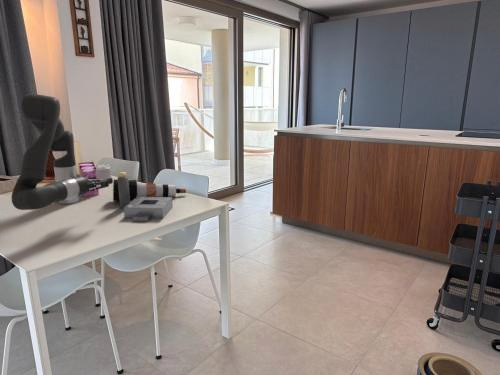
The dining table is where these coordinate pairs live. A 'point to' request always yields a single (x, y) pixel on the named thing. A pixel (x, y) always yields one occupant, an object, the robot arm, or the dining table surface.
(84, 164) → the gum box
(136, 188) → the banded tapered cylinder
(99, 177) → the lumpy-topped squat cylinder
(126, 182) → the grey bottle
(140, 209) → the housing
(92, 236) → the dining table surface
